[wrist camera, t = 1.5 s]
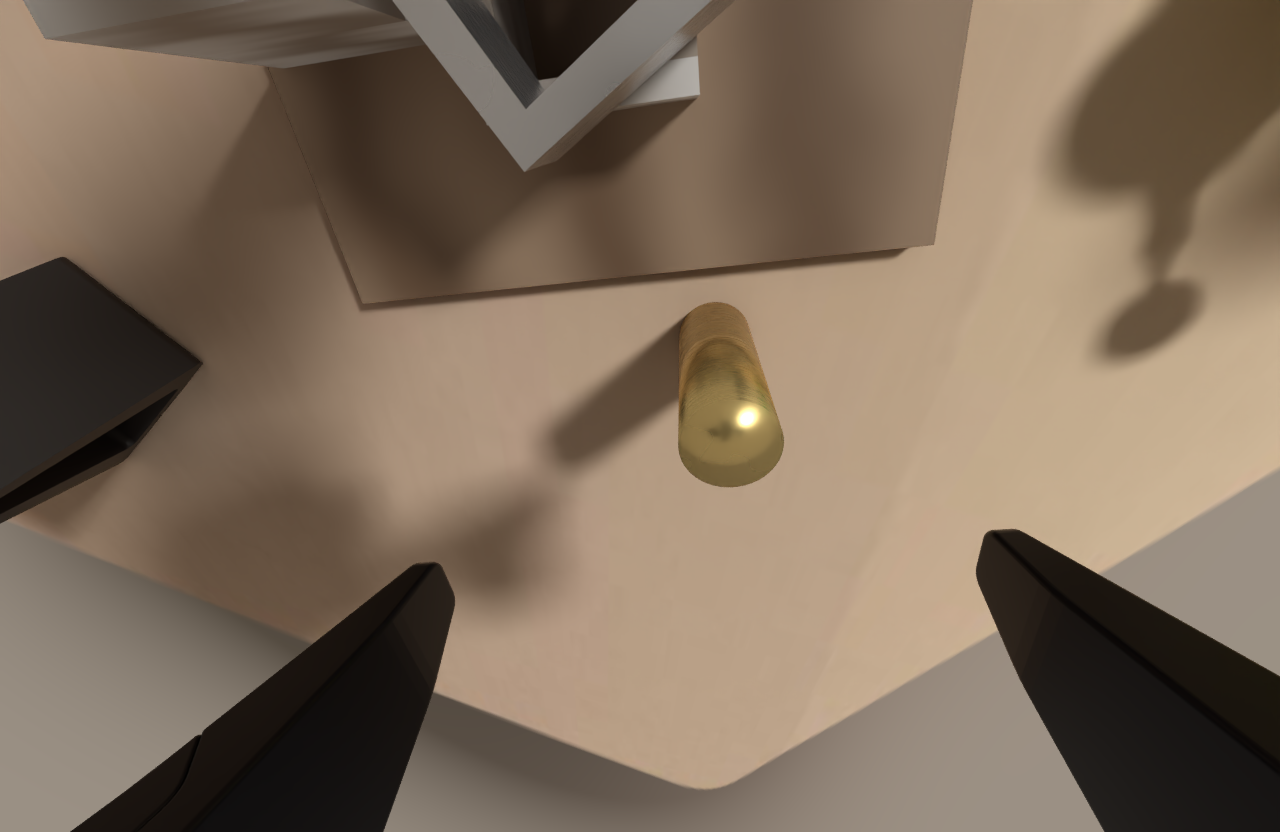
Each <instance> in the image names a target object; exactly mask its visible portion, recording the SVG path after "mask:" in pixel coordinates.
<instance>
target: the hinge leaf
mask: <svg viewBox="0 0 1280 832" xmlns="http://www.w3.org/2000/svg"><path fill="white" fill-rule="evenodd" d="M392 1H393V2H394V3H395V5H396V6H397V7H398V8H399V10H400V11H401V12H402V14H403V15H404V16H405V18H406V19H407V20H408V21H409V23H410V24H411V25H412V27H413V28H414V29H415V31H416V32H417V33H418V34H419V36H420V37H421V38H422V40H423V41H424V42H425V44H426V45H427V46H428V47H429V49H430V50H431V51H432V53H433V54H434V55H435V57H436V58H437V59H438V60H439V62H440V63H441V64H442V66H443V67H444V68H445V70H446V71H447V72H448V73H449V75H450V76H451V77H452V79H453V80H454V81H455V83H456V84H457V85H458V86H459V88H460V89H461V90H462V92H463V93H464V94H465V96H466V97H467V98H468V99H469V101H470V102H471V103H472V105H473V106H474V107H475V109H476V110H477V111H478V112H479V114H480V115H481V116H482V118H483V119H484V120H485V122H486V123H487V124H488V125H489V127H490V128H491V129H492V131H493V132H494V133H495V135H496V136H497V137H498V138H499V140H500V141H501V142H502V144H503V145H504V146H505V148H506V149H507V150H508V151H509V153H510V154H511V155H512V157H513V158H514V159H515V161H516V162H517V163H518V164H519V166H520V167H521V168H522V170H523V171H524V172H526V171H529V170H531V169H534V168H537V167H540V166H543V165H546V164H549V163H552V162H555V161H557V160H559V159H560V158H561V157H562V156H563V155H564V154H565V153H566V152H567V151H569V150H570V149H571V148H572V147H573V146H574V145H575V144H576V143H577V142H579V141H580V140H581V139H582V138H583V137H584V136H585V135H586V134H587V133H589V132H590V131H591V130H592V129H593V128H594V127H595V126H596V125H597V124H599V123H600V122H601V121H602V120H603V119H604V118H605V117H606V116H607V115H609V114H610V113H611V112H612V111H613V110H614V109H615V108H616V107H617V106H619V105H620V104H621V103H622V102H623V101H624V100H625V99H626V98H627V97H629V96H630V95H631V94H632V93H633V92H634V91H635V90H636V89H637V88H639V87H640V86H641V85H642V84H643V83H644V82H645V81H646V80H647V79H649V78H650V77H651V76H652V75H653V74H654V73H655V72H656V71H657V70H659V69H660V68H661V67H662V66H663V65H664V64H665V63H666V62H667V61H669V60H670V59H671V58H672V57H673V56H674V55H675V54H676V53H677V52H679V51H680V50H681V49H682V48H683V47H684V46H685V45H686V44H687V43H689V42H690V41H691V40H692V39H693V38H694V37H695V36H696V35H697V34H699V33H700V32H701V31H702V30H703V29H704V28H705V27H706V26H707V25H709V24H710V23H711V22H712V21H713V20H714V19H715V18H716V17H717V16H719V15H720V14H721V13H722V12H723V11H724V10H725V9H726V8H727V7H729V6H730V5H731V4H732V3H733V2H734V1H735V0H637V1H636V2H635V3H634V4H633V5H632V6H631V7H630V8H629V9H628V10H627V11H626V12H625V13H624V14H623V15H622V16H621V17H620V18H619V19H618V20H617V21H616V22H615V23H614V24H613V25H612V26H611V27H610V28H609V29H608V30H606V31H605V32H604V33H603V34H602V35H601V36H600V37H599V38H598V39H597V40H596V41H595V42H594V43H593V44H592V45H591V46H590V47H589V48H588V49H587V50H586V51H585V52H584V53H583V54H582V55H581V56H580V57H579V58H578V59H577V60H576V61H575V62H574V63H573V64H572V65H571V66H570V67H569V68H568V69H567V70H566V71H564V72H563V73H562V74H561V75H560V76H559V77H558V78H557V79H556V80H555V81H554V82H553V83H552V84H551V85H550V86H549V87H548V88H547V89H546V90H545V89H544V88H543V86H542V85H541V84H540V82H539V81H538V79H537V78H536V77H535V75H534V74H533V72H532V71H531V69H530V68H529V67H528V65H527V64H526V62H525V61H524V60H523V58H522V57H521V55H520V54H519V52H518V51H517V50H516V48H515V47H514V45H513V44H512V43H511V41H510V40H509V38H508V37H507V35H506V34H505V33H504V31H503V30H502V28H501V27H500V26H499V24H498V23H497V21H496V20H495V18H494V17H493V16H492V14H491V13H490V11H489V10H488V9H487V7H486V6H485V4H484V3H483V1H482V0H392Z"/></svg>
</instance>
